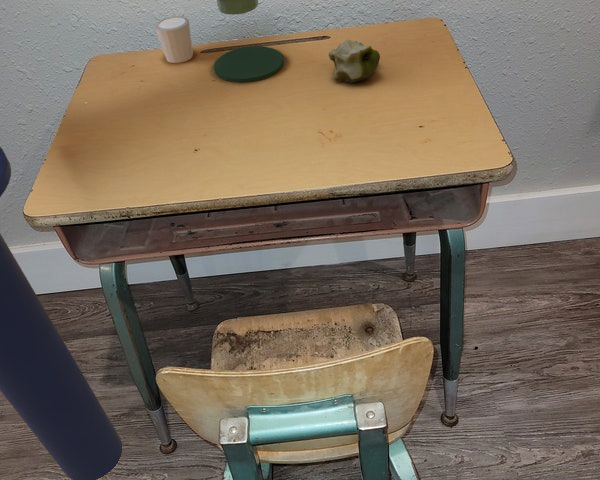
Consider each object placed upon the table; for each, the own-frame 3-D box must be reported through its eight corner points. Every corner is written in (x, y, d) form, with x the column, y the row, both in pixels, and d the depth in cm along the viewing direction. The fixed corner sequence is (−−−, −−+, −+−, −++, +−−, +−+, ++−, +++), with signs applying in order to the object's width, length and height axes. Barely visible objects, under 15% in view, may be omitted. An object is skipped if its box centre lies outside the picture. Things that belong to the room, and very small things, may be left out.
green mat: (232, 89, 112) (231, 85, 112) (203, 63, 121) (203, 59, 121) (296, 68, 116) (296, 64, 116) (264, 43, 125) (264, 39, 125)
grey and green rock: (383, 90, 110) (380, 52, 103) (333, 97, 111) (327, 61, 105) (378, 58, 115) (376, 20, 108) (331, 66, 116) (325, 29, 110)
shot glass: (197, 61, 122) (189, 26, 117) (163, 66, 122) (155, 32, 117) (194, 47, 127) (187, 13, 122) (162, 52, 126) (154, 18, 121)
